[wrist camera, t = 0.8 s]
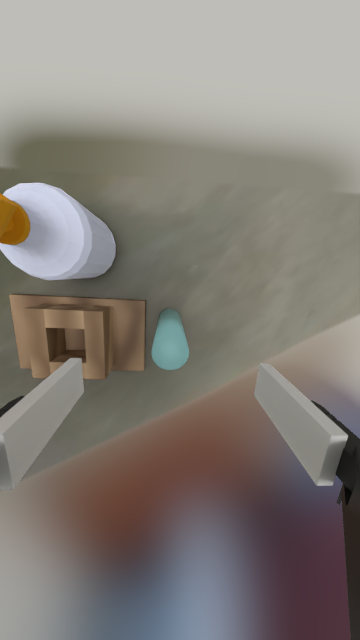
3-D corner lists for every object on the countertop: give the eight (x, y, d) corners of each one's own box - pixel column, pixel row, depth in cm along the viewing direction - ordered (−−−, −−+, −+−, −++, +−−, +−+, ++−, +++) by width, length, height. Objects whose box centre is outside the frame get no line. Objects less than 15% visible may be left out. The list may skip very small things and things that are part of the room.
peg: (158, 329, 32) (151, 369, 19) (159, 308, 31) (151, 334, 18) (179, 329, 33) (187, 370, 19) (180, 309, 32) (190, 335, 18)
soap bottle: (73, 199, 27) (-630, -344, 3) (128, 240, 29) (-66, 84, 5) (43, 253, 28) (-600, 151, 5) (97, 289, 30) (-171, 351, 6)
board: (25, 364, 32) (-4, 383, 27) (15, 293, 30) (-20, 298, 24) (144, 367, 34) (140, 386, 28) (145, 300, 31) (140, 306, 25)
